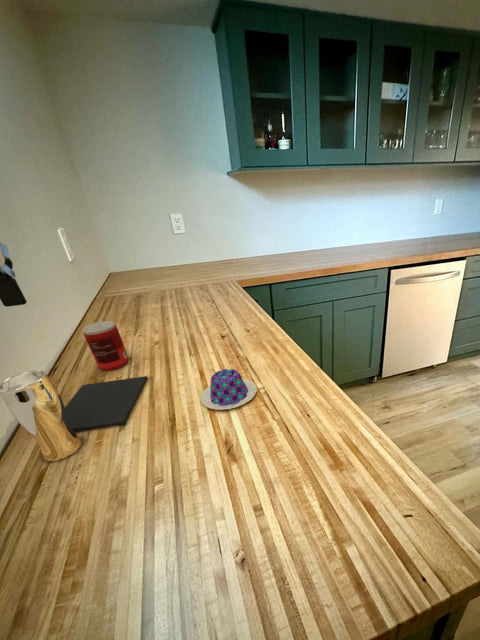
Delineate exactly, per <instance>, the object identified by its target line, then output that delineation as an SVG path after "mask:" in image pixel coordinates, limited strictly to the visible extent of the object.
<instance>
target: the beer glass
mask: <svg viewBox="0 0 480 640" xmlns="http://www.w3.org/2000/svg"><path fill="white" fill-rule="evenodd" d="M0 396H1V398H2V400H3V402H4V404H5V406H6V408H7V409H8V411H9V413H10V414H11V415H12V417H13V419H15V421H17V423H18V424H19V425H20V426H21V427H22V428H23V429H24V430H25V431H26V432H27V433H28V434H29V435H30V436H31V437H32V438H33V439H34V440H35V441H36V443H37V445H38V446H39V448H40V452H41V455H42V457H43V459H44V460H45V461H47V462H56V461H60V460H61V461H62V460H63V459H66V458H68V457H70V456H71V455H73V454H74V453H76V452H77V451H78V450H79V449H80V447H81V445H82V440H81V438H80V437H79V435H77V433H76V432H74V431H73V430H72V428H71V427H70V425H69V422H68V419H67V415H66V411H65V405H64V402H63V399H62V397H61V394H60V393H59V391H58V389H57V388H56V386H55V384H54V383H53V381H52V379H51V378H50V377H49V374H47V372H46V371H45V370H43V369H32V370H27V371H23V372H20V373H17V374H14V375H12V376H10V377H8V378H6V379H4V380H3V381H2V382H0Z"/></svg>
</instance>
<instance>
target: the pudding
mask: <svg viewBox="0 0 480 640" xmlns="http://www.w3.org/2000/svg"><path fill="white" fill-rule="evenodd" d="M257 389H258V388H257V385H256V383H254V382H253V381H252V380H250V379H247V378H243V377H242V376H241V374H240V373H239V372H238V371H237V370H236V369H233V368H230V369H228V368H224V369H222V370H218V371H216V372H214V374H212V375H211V377H210V385H209V386H207V387H206V388H205V389H204V390H203V391H202V393H201V394H200V402H201V404H202V405H203V406H204V407H206V408H208V409H211V410H217V411H218V410H223V411H224V410H229V409H234V408H235V409H236V408H238V407H240V406H243V405H244V404H246V403H249V401H251V400H253V398H254V397H255V395H256V393H257V391H258V390H257Z"/></svg>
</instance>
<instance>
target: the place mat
mask: <svg viewBox="0 0 480 640" xmlns="http://www.w3.org/2000/svg"><path fill="white" fill-rule="evenodd" d="M147 381H148V376H147V375H145V376H144V375H143V376H138V377H137V376H136V377H129V378H123V379H116V380H108V381H101V382H93V383H87V384H82V385H81V387H79V389H78V390H77V391H76V393H74V395H73V397H71V398H70V400H69V402H67V404H66V405H65V406H64V408H65V411H66V415H67V419H68V422H69V425H70V427H71V428H72V430H73V431H74V433H76V432H82V431H83V432H84V431H90V430H97V429H103V428H109V427H111V428H112V427H116V426H122V425H123V426H124V425H126V423H127V421H128V419H129V417H130V415H131V413H132V411H133V409H134V406H135V405H136V404H137V401H138V399H139V397H140V395H141V393H142V391H143V389H144V387H145V385H146V383H147Z"/></svg>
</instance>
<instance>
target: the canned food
mask: <svg viewBox="0 0 480 640" xmlns="http://www.w3.org/2000/svg"><path fill="white" fill-rule="evenodd" d="M82 334H83V336H84V339H85V340H86V343H87V345H88V347H89V350H90V352H91V354H92V356H93V359H94V361H95V363H96V366H97V367H98V368H99V369H100V370H101V371H105V372H106V371H107V372H109V371H114V370H119V369H120V368H123V367H125V366H126V365H127V364H128V362H129V355H128V353H127V349H126V347H125V344H124V342H123V339H122V337H121V334H120V331H119V329H118V327H117V324H116V323H115V321H113V320H102V321H98V322H97V321H96V322H93V323H91V324H87V325H86V326H85V327H83V328H82Z"/></svg>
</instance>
